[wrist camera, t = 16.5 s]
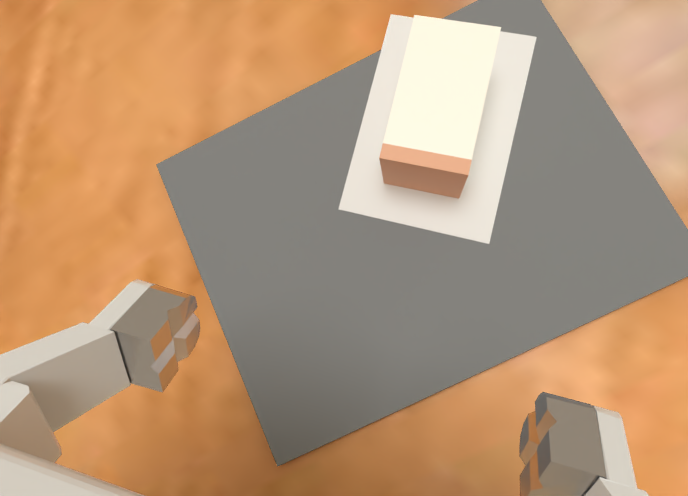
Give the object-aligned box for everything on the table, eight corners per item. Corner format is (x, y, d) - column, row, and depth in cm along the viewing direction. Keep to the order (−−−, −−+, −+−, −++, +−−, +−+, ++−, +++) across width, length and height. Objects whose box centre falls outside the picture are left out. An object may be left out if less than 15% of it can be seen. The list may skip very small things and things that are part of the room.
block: (413, 60, 29) (383, 183, 28) (414, 15, 25) (379, 157, 24) (487, 72, 29) (459, 198, 28) (501, 27, 24) (468, 175, 23)
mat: (280, 463, 27) (277, 466, 27) (151, 143, 32) (146, 140, 31) (704, 267, 26) (710, 265, 25) (508, -40, 30) (510, -48, 30)
